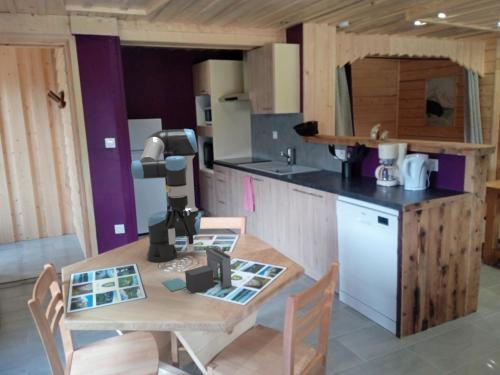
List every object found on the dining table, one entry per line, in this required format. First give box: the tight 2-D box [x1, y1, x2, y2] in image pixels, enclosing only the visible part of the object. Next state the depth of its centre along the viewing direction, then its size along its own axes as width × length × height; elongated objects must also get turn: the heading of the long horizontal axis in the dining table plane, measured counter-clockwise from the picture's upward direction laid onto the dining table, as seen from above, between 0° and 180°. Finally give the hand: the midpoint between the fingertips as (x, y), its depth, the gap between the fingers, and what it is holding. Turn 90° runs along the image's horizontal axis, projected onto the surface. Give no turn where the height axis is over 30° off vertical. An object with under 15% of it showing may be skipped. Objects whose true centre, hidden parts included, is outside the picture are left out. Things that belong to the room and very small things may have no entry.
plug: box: [184, 264, 215, 294], centre depth 174 cm, size 6×12×8 cm, turn 124°
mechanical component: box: [203, 245, 227, 255], centre depth 196 cm, size 3×10×10 cm, turn 78°
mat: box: [161, 277, 186, 292], centre depth 178 cm, size 11×8×1 cm
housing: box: [205, 248, 233, 289], centre depth 178 cm, size 14×4×13 cm, turn 34°
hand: (181, 247), depth 166 cm, fingers open, 13 cm apart
